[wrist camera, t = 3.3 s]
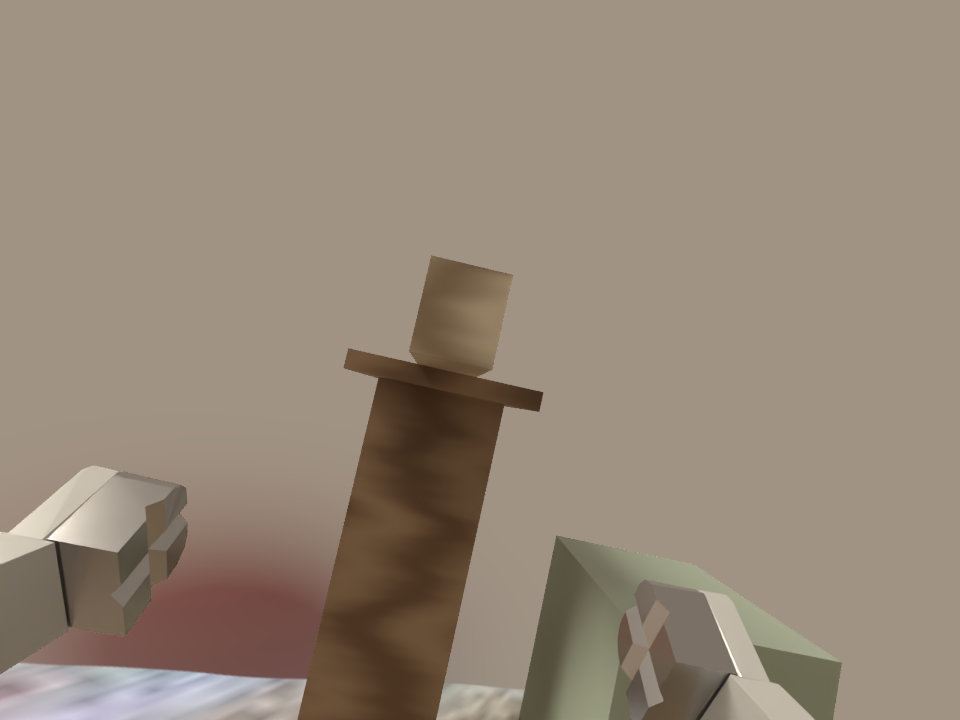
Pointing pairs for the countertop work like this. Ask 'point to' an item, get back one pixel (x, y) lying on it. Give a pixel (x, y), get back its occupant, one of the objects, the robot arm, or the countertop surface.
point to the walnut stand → (406, 541)
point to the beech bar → (460, 317)
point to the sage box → (595, 626)
